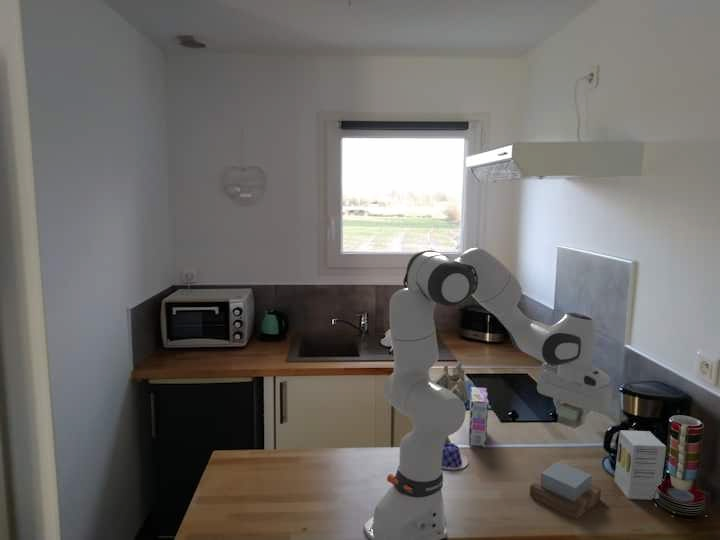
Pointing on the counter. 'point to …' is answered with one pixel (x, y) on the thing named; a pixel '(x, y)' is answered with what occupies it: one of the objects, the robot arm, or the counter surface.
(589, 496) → the walnut slab
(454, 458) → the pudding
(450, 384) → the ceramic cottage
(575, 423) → the sage block
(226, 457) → the counter surface
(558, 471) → the grey slab
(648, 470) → the supplement box
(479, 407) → the candy box
